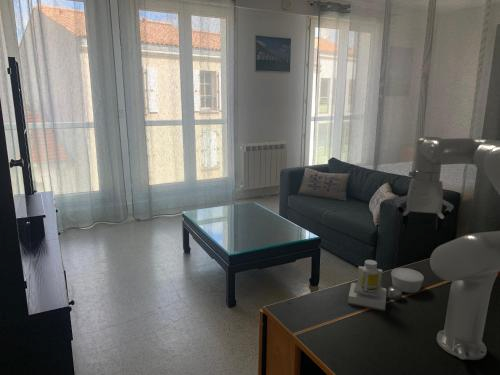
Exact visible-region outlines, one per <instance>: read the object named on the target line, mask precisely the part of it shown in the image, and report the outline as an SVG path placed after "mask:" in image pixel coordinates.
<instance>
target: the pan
mask: <svg viewBox="0 0 500 375" xmlns="http://www.w3.org/2000/svg"><path fill="white" fill-rule="evenodd" d="M355 283H356V284H355V289H354V293H360V294H365V295H371V296H376V297H381V292H382V288H383V286H382V285H381V286H379V285H377V290H376V291H374V292H368V291H365V290H363V289H362V288H361V282H357V281H355Z"/></svg>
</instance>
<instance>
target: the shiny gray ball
mask: <svg viewBox="0 0 500 375" xmlns="http://www.w3.org/2000/svg"><path fill="white" fill-rule="evenodd" d="M387 297H388V298H389V299H391V300H395V301H399V300H401V299H402V289H401V288H399V287H396V286H393V285H390V286H389V287H388V291H387Z"/></svg>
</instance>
